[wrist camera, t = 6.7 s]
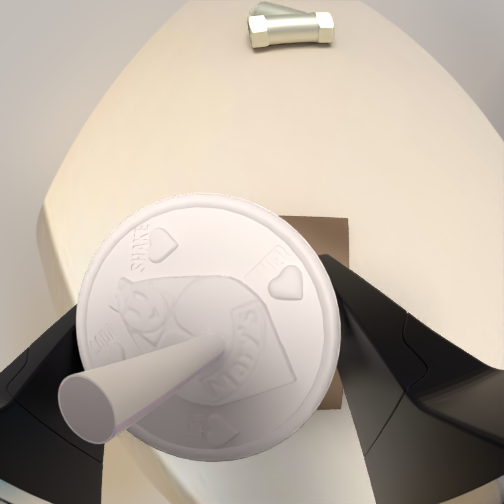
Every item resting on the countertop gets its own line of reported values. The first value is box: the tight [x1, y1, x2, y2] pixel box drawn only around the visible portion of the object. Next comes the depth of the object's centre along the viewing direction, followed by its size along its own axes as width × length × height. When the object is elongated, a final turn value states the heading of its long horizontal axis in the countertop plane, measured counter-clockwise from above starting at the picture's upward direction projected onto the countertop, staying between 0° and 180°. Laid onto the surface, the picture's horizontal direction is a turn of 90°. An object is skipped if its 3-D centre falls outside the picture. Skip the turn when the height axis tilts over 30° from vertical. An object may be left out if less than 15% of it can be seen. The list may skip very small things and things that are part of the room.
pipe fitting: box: [247, 2, 334, 48], centre depth 23 cm, size 8×4×7 cm
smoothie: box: [58, 193, 341, 462], centre depth 9 cm, size 6×6×14 cm
